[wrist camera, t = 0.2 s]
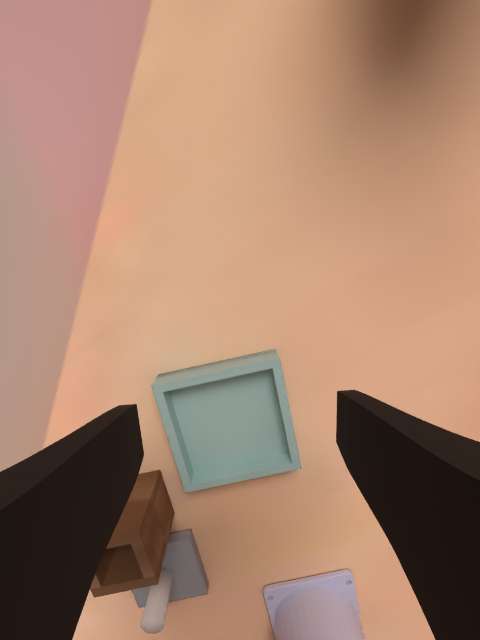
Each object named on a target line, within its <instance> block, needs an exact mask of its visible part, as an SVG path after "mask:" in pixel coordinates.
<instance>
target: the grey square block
mask: <svg viewBox="0 0 480 640" xmlns="http://www.w3.org/2000/svg"><path fill="white" fill-rule="evenodd" d="M132 592H133V595H134V597H135V600H136V602H137V604H138V607H139V608H142V607H145V610H144V614H143V618H142V622H141V628H142V629H143V630H144V631H145V632H147V633H151V634H154V633H158V632H160V631H161V630H162V629H163V627H164V622H165V616H166V611H167V606H168V602H171V601H176V600H181V599H186V598H191V597H196V596H201V595H206V594H208V580H207V577H206V574H205V571H204V568H203V565H202V562H201V559H200V556H199V552H198V549H197V546H196V543H195V540H194V537H193V534H192V531H191V529H189V530H184V531H180V532H175V533H170V534H169V538H168V543H167V547H166V552H165V556H164V560H163V565H162V569H161V573H160V578H159V582H158V584H157V585H153V586H148V587H143V588H138V589H133V590H132Z"/></svg>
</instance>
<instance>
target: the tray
mask: <svg viewBox="0 0 480 640" xmlns="http://www.w3.org/2000/svg"><path fill="white" fill-rule="evenodd" d="M152 390H153V393H154V396H155V399H156V402H157V405H158V409H159V412H160V415H161V418H162V421H163V424H164V428H165V431H166V434H167V437H168V440H169V443H170V447H171V450H172V453H173V456H174V459H175V462H176V466H177V469H178V472H179V475H180V478H181V481H182V485H183V488H184V491H185V493H188V492H193V491H197V490H202V489H207V488H212V487H216V486H221V485H226V484H231V483H235V482H240V481H245V480H250V479H254V478H259V477H264V476H269V475H273V474H278V473H283V472H288V471H292V470H297V469H302V467H301V462H300V457H299V452H298V447H297V442H296V437H295V432H294V427H293V422H292V417H291V412H290V407H289V402H288V397H287V392H286V387H285V382H284V377H283V371H282V366H281V361H280V357H279V355H278V353H277V351H276V349H273V350H269V351H264V352H260V353H255V354H250V355H246V356H241V357H237V358H232V359H228V360H223V361H218V362H214V363H209V364H205V365H200V366H196V367H191V368H187V369H182V370H177V371H173V372H168V373H164V374H159V375H158V376H157V378H156V379H155V381H154V382H153V384H152Z"/></svg>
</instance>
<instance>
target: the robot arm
mask: <svg viewBox="0 0 480 640" xmlns="http://www.w3.org/2000/svg"><path fill="white" fill-rule="evenodd" d="M336 442H337V445H338V447H339V449H340V452H341V454H342V457H343V459H344V461H345V464H346V466H347V468H348V470H349V472H350V474H351V476H352V477H353V479H354V481H355V483H356V484H357V486H358V488H359V490H360V491H361V493H362V495H363V496H364V498H365V500H366V502H367V503H368V505H369V507H370V508H371V510H372V512H373V514H374V515H375V517H376V519H377V521H378V522H379V524H380V526H381V527H382V529H383V531H384V533H385V534H386V536H387V538H388V540H389V542H390V544H391V545H392V547H393V549H394V551H395V553H396V555H397V557H398V559H399V561H400V563H401V565H402V568H403V570H404V572H405V574H406V576H407V578H408V580H409V582H410V584H411V587H412V589H413V591H414V593H415V595H416V597H417V599H418V602H419V604H420V606H421V608H422V610H423V613H424V615H425V617H426V619H427V621H428V624H429V626H430V628H431V630H432V633H433V635H434V637H435V639H436V640H480V442H478V441H475V440H472V439H469V438H466V437H463V436H461V435H458V434H455V433H453V432H450V431H447V430H445V429H442V428H440V427H438V426H435V425H433V424H430V423H428V422H426V421H423V420H421V419H419V418H416V417H414V416H412V415H410V414H407V413H405V412H403V411H401V410H399V409H397V408H394V407H392V406H390V405H388V404H386V403H384V402H382V401H379V400H377V399H375V398H373V397H371V396H369V395H366V394H364V393H361V392H359V391H356V390H346V391H337V431H336ZM143 457H144V451H143V445H142V438H141V431H140V425H139V418H138V411H137V405H136V404H133V405H119V406H117V407H115V408H113V409H111V410H109V411H107V412H106V413H104V414H102V415H100V416H99V417H97V418H95V419H94V420H92V421H90V422H89V423H87V424H86V425H84V426H82V427H81V428H79V429H77V430H76V431H74V432H72V433H71V434H69V435H67V436H66V437H64V438H62V439H60V440H59V441H57V442H55V443H53V444H52V445H50V446H48V447H46V448H45V449H43V450H41V451H39V452H38V453H36V454H34V455H32V456H31V457H29V458H27V459H25V460H23V461H21V462H19V463H18V464H15V465H13V466H11V467H10V468H7V469H5V470H3V471H1V472H0V640H72V638H73V635H74V632H75V629H76V626H77V623H78V621H79V618H80V615H81V612H82V609H83V607H84V604H85V601H86V598H87V595H88V593H89V590H90V587H91V584H92V581H93V579H94V576H95V573H96V571H97V569H98V566H99V564H100V561H101V559H102V557H103V554H104V552H105V550H106V548H107V545H108V543H109V541H110V539H111V537H112V534H113V532H114V530H115V528H116V526H117V523H118V521H119V519H120V517H121V515H122V512H123V510H124V508H125V506H126V503H127V501H128V499H129V497H130V494H131V492H132V490H133V488H134V485H135V483H136V480H137V477H138V473H139V470H140V467H141V463H142V460H143ZM263 595H264V598H265V602H266V606H267V610H268V613H269V617H270V621H271V625H272V628H273V632H274V636H275V640H366V639H365V636H364V634H363V631H362V625H361V619H360V613H359V607H358V601H357V595H356V589H355V584H354V578H353V574H352V572H351V571H350V570H348V569H344V570H340V571H335V572H330V573H325V574H320V575H315V576H310V577H305V578H300V579H295V580H290V581H285V582H281V583H276V584H271V585H267V586H265V587H264V588H263Z"/></svg>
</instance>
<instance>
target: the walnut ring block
mask: <svg viewBox="0 0 480 640" xmlns="http://www.w3.org/2000/svg"><path fill="white" fill-rule="evenodd" d="M173 517H174V510H173V507H172V504H171V501H170V498H169V495H168V492H167V489H166V486H165V483H164V480H163V477H162V474H161V471H160V470H157V471H152V472H148V473H143V474H138V477H137V480H136V483H135V485H134V488H133V490H132V492H131V494H130V497H129V499H128V501H127V503H126V506H125V508H124V510H123V512H122V515H121V517H120V519H119V521H118V523H117V526H116V528H115V530H114V532H113V534H112V537H111V539H110V541H109V543H108V545H107V548H106V550H105V552H104V554H103V557H102V559H101V561H100V564H99V566H98V569H97V571H96V573H95V576H94V579H93V581H92V584H91V587H90V590H91V592H92V594H93V596H94V597H99V596H104V595H109V594H114V593H118V592H123V591H128V590H133V589H138V588H143V587H148V586H153V585H157V584H158V582H159V578H160V573H161V569H162V565H163V560H164V556H165V552H166V547H167V543H168V538H169V534H170V530H171V525H172V521H173Z"/></svg>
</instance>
